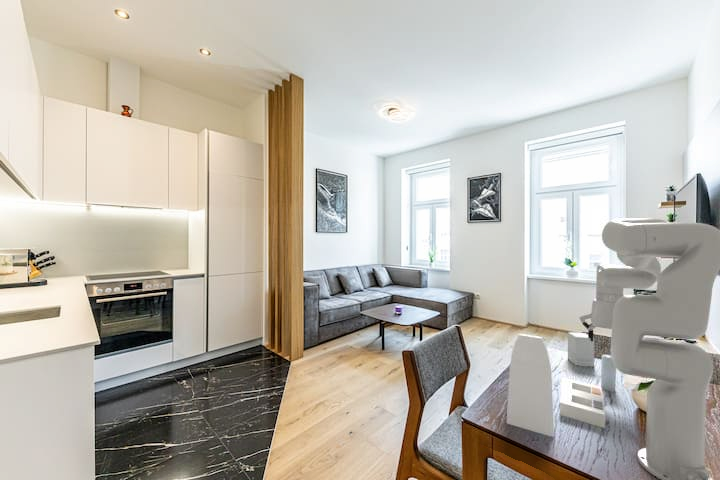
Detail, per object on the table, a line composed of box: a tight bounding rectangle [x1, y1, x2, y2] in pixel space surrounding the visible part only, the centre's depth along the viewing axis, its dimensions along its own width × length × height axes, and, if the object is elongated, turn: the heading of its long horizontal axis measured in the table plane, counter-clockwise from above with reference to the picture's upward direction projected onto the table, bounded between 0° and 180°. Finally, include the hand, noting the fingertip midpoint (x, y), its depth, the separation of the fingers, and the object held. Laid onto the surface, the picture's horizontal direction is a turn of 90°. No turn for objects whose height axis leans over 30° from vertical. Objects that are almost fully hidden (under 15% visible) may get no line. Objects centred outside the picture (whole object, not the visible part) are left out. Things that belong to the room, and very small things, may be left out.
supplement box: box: [567, 331, 595, 367], centre depth 130 cm, size 7×7×13 cm
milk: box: [506, 333, 555, 438], centre depth 90 cm, size 12×12×26 cm
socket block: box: [559, 377, 606, 429], centre depth 97 cm, size 20×11×4 cm, turn 143°
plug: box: [600, 354, 617, 393], centre depth 108 cm, size 4×4×12 cm
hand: (608, 343), depth 108 cm, fingers open, 9 cm apart
